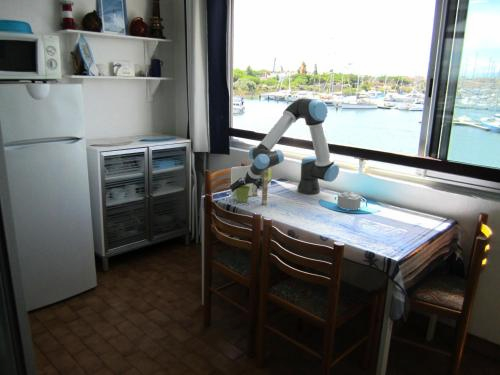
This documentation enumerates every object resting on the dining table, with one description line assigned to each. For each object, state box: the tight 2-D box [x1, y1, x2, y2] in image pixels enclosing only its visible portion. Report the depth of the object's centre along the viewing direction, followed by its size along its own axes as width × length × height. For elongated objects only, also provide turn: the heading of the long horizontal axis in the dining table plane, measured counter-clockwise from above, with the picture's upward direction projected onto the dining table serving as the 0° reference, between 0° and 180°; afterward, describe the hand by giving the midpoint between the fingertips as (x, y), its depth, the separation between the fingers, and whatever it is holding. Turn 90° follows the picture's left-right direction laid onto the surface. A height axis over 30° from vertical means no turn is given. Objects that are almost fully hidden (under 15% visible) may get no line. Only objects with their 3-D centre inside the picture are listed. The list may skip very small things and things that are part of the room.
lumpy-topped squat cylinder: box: [336, 191, 362, 211], centre depth 240 cm, size 10×13×9 cm
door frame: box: [253, 169, 269, 206], centre depth 248 cm, size 21×2×24 cm, turn 17°
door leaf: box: [230, 165, 254, 199], centre depth 252 cm, size 15×3×19 cm, turn 117°
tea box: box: [248, 163, 273, 190], centre depth 278 cm, size 15×10×15 cm
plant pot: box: [236, 185, 250, 203], centre depth 247 cm, size 9×9×9 cm
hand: (242, 192), depth 246 cm, fingers open, 13 cm apart
